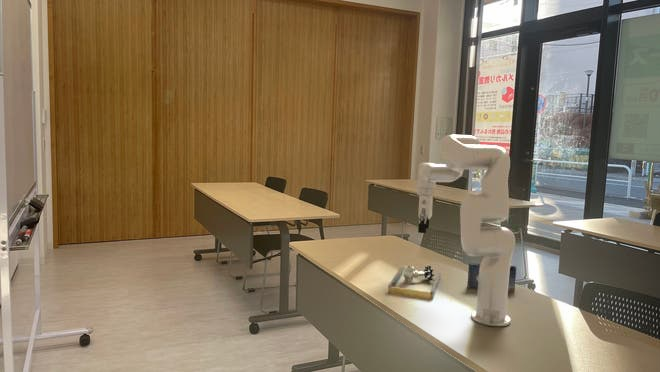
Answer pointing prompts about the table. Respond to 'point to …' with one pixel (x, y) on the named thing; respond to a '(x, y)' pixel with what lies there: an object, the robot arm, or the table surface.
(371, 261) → the table surface
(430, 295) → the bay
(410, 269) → the valve
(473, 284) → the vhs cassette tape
